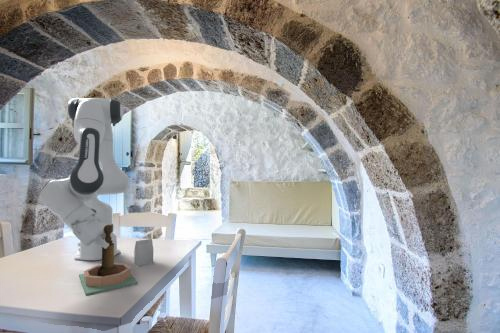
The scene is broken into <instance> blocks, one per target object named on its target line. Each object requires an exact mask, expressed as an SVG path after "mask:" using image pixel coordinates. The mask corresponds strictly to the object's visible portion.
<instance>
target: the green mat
mask: <svg viewBox="0 0 500 333" xmlns="http://www.w3.org/2000/svg"><path fill="white" fill-rule="evenodd" d="M119 273H120V272H118V274H119ZM96 276H97V275H96ZM78 277H79V280H80V283H81V286H82V289H83V292H84V294H85V296H90V295H95V294H99V293H102V292H107V291H112V290H113V291H114V290H118V289H122V288H126V287H130V286H134V285H135V286H136V285H138V284H139V281H138V280H137V279H136V278H135V277H134V276H133V275H132V274H131V275H130V277H129V278H128V279H126V280H125V281H123V282H122V283H118V284H113V285H109V286H104V287H97V286H86V285H85V282H84V273H80V274H78Z"/></svg>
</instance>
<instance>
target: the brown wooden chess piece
mask: <svg viewBox="0 0 500 333" xmlns="http://www.w3.org/2000/svg"><path fill="white" fill-rule="evenodd" d="M113 227H114V226H113ZM113 227H112V226H111V225H106V226H105V227H104V232H105V234H106V237H105V241H107V242H108V243H109V244H110V245H109V246H108V247H107V248H106V249H104V248H103V247H102V259H101V265H102V266H101V267H100V268H99V269H98V273H97V276H102V277H103V276H108V275H114V274H118V267H116V266H115V265H114V263H115V255H114V243H111V239H112V237H111V236H110V234H111V232H112V230H113V231H114V228H113Z"/></svg>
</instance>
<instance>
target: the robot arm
mask: <svg viewBox="0 0 500 333" xmlns="http://www.w3.org/2000/svg"><path fill="white" fill-rule="evenodd" d="M124 112H125V111H124V108H123V104H122V103H121V101H120V100H117V99H114V98H111V99H109V98H103V97H89V98H87V97H86V98H85V97H84V98H82V97H81V98H80V97H75V98H71V99H70V100H69V101H68V104H67V114H68V116H69V118H70V119H71V121H73V137H74V141H75V142H76V143H78V144H79V151H78V161H77V164H76V165H75V167H74V168H73V169H72V171H71V173H70V174H69V175H68V177H67V178H65V179H52V180H50V181H48V182H47V183H46V184H45V185H44V186H43V187H42V189H41V190H40V192H39V194H38V197H39V201H40V202H41V203H42V204H43V205H44V206H45V207H46V208H47V210H48V211H50V212H51V213H52V214H53V215H56V216H57V217H58V218H59V219H60V220H61V222H62V223H63V224H65V225H66V226H67V228H69V229H70V230H71V231H72V233H73V235H74V236H75V237H76V238H77V239H78V240H79V241H77V247H78V249H77V251H76V253H75V256H74V260H76V261H77V260H80V261H98V260H99V261H100V260H102V247H103V248H104V249H106V248H107V247H108V246H109V245H110V244H109V243H108V242H107V241H105V237H106V234H105V232H104V227H105V226H106V225H111V226H112V227H113V230H112V232H111V234H110V236H111V237H112V239H111V243H114V256H116V255H118V254H121V252H122V251H121V250H120V249H118V241H117V240H118V238H117V235H116V234H115V233H114V228H115V227H114V224H113V208H112V206H111V205H110V204H108V203H107V202H103V201H101V200H99V199H98V196H101V195H104V196H106V195H110V196H111V195H119V194H123V193H126V192H127V191H128V189H129V187H130V186H131V181H130V177H129V175H128V174H127V173H126V172H124V171H123V170H122V169H121V168H120V167H119V166H118V164H117V162H116V159H115V156H114V137H113V136H114V134H113V127H115V126H116V125H117V124H119V123H120V122H121V121H122V119H123V118H124Z"/></svg>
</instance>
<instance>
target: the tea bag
mask: <svg viewBox="0 0 500 333" xmlns="http://www.w3.org/2000/svg"><path fill="white" fill-rule="evenodd" d="M133 252H134V257H133V259H134V260H133V261H134V262H133V263H134V265H135V266H136V267H140V266H141V267H142V266H144V265H150V264H154V244H153V239H152V238H148V239H140V240H135V245H134V250H133Z"/></svg>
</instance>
